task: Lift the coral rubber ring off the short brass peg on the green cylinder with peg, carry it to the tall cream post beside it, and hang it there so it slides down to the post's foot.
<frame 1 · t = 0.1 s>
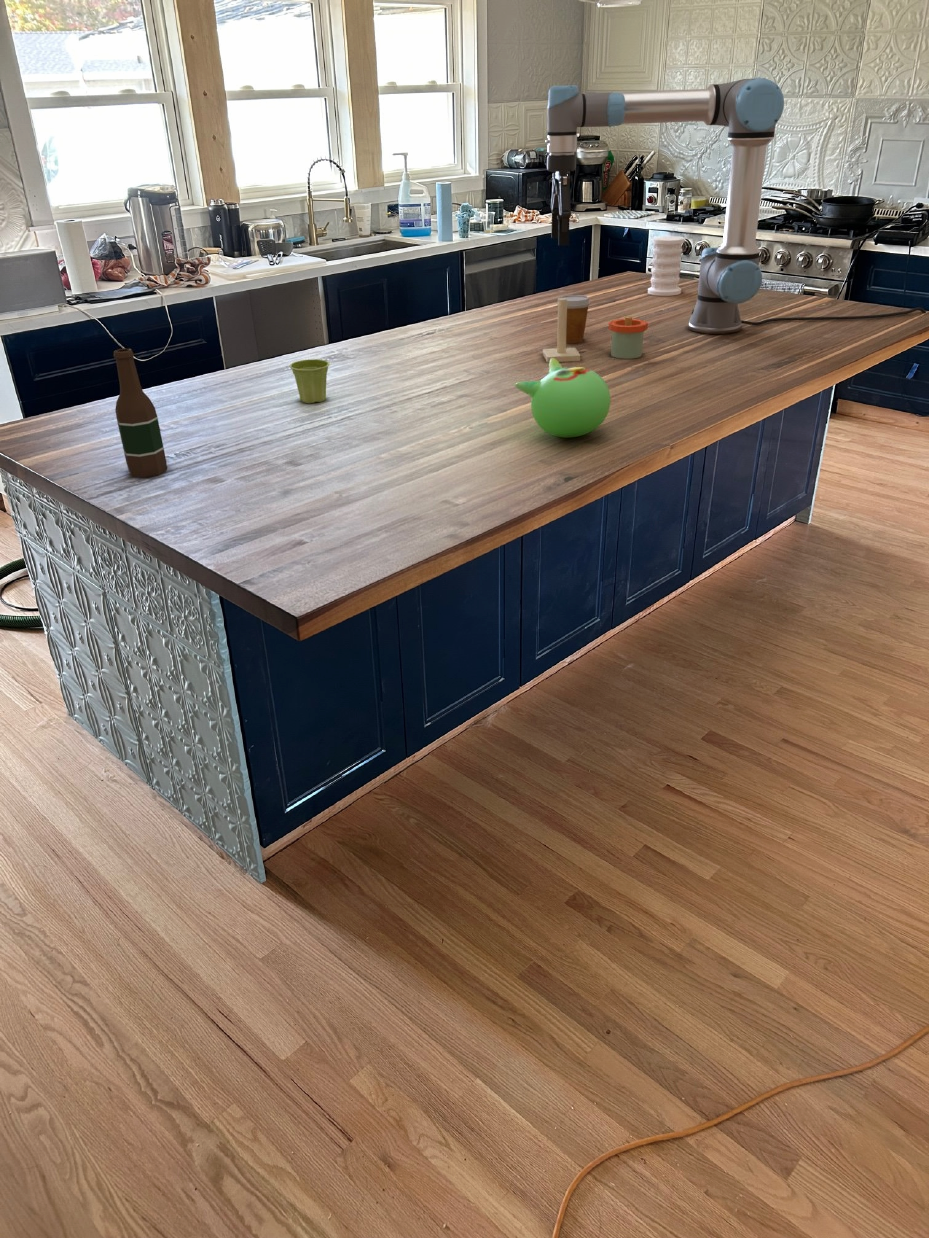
hand: (559, 241, 250), 28 cm above the table, tool pointing down, fingers open, 13 cm apart
green cylinder with peg: (626, 354, 253), on the table
disposable coffee cup: (572, 341, 269), on the table
beer bottle: (148, 472, 185), on the table
toy bird: (567, 434, 197), on the table
plant pot: (313, 400, 224), on the table
tall post: (561, 357, 252), on the table
decorative container: (664, 293, 327), on the table
ring: (627, 328, 250), point 7 cm above the table, touching green cylinder with peg
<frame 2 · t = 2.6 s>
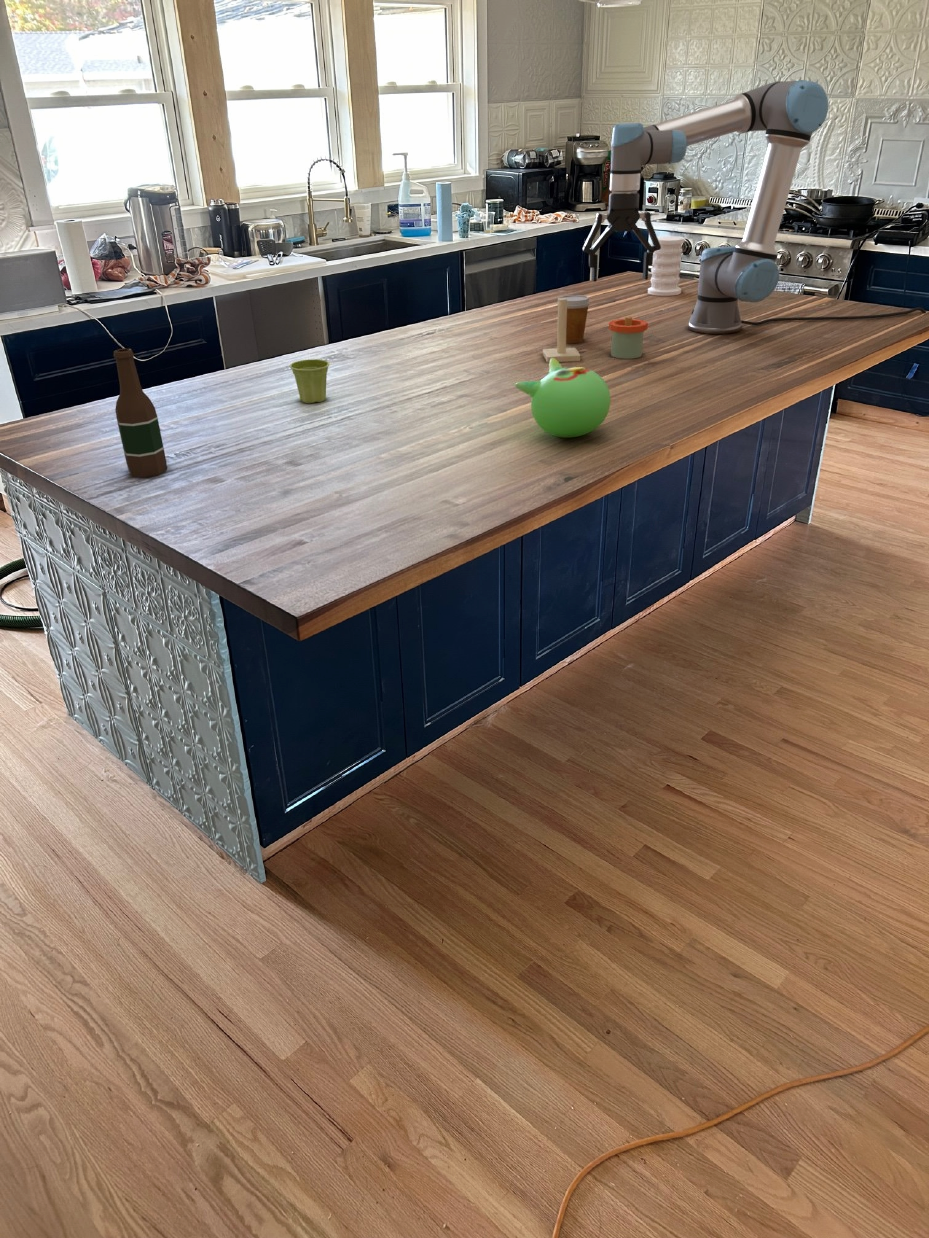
hand: (619, 280, 245), 19 cm above the table, tool pointing down, fingers open, 13 cm apart
nothing on the table moved.
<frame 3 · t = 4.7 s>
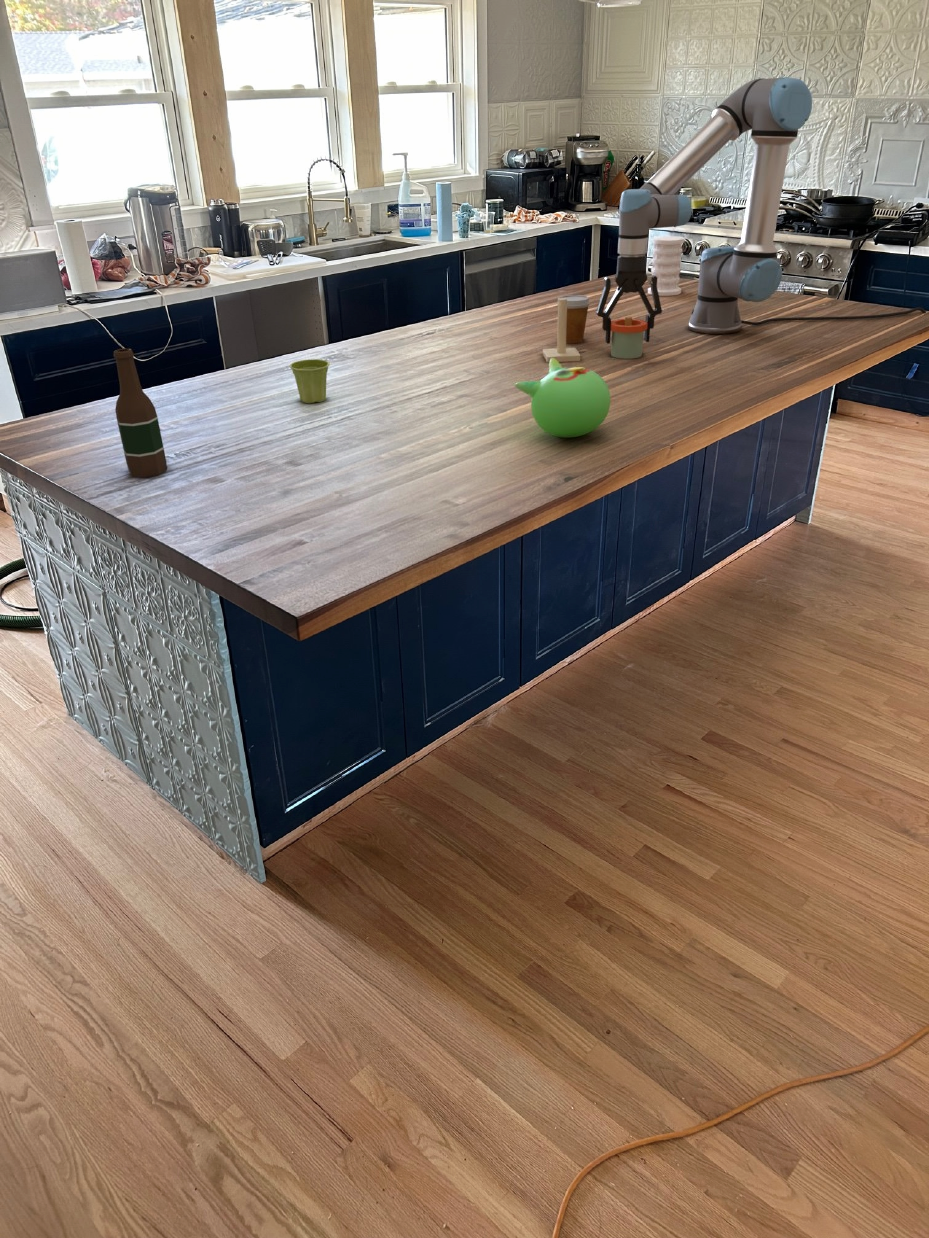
hand: (627, 341, 251), 4 cm above the table, tool pointing down, fingers closed on ring, 10 cm apart
ring: (627, 328, 250), point 7 cm above the table, touching gripper, green cylinder with peg
everything else where it was.
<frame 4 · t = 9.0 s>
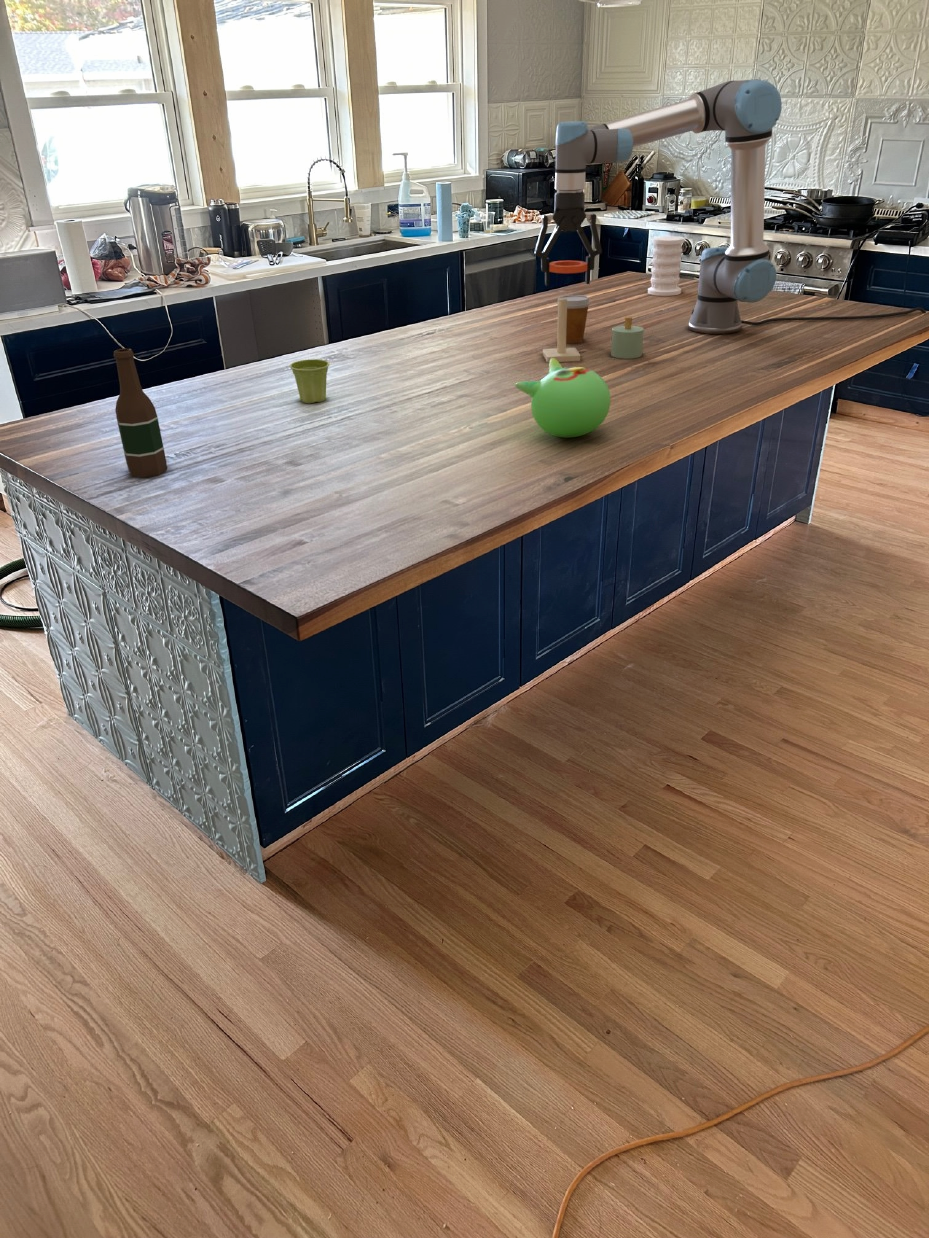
hand: (567, 284, 243), 19 cm above the table, tool pointing down, fingers closed on ring, 10 cm apart
ring: (567, 270, 241), point 23 cm above the table, touching gripper
everything else where it was.
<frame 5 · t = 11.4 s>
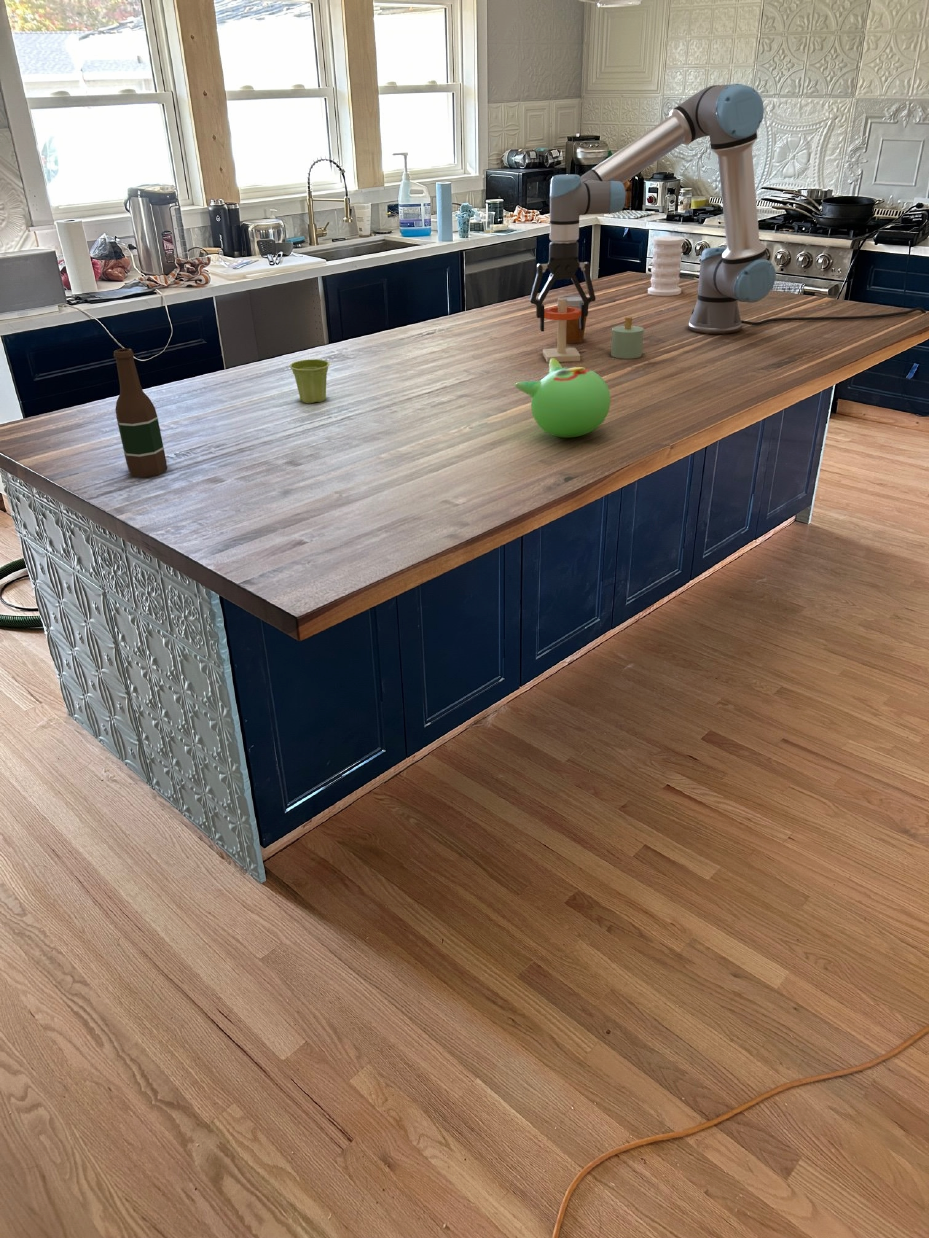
hand: (561, 329, 249), 8 cm above the table, tool pointing down, fingers closed on ring, 10 cm apart
ring: (562, 316, 247), point 11 cm above the table, touching gripper
everything else where it was.
when the fingers open (3 cm above the table, at t = 13.3 s): ring drops 5 cm, resting on tall post.
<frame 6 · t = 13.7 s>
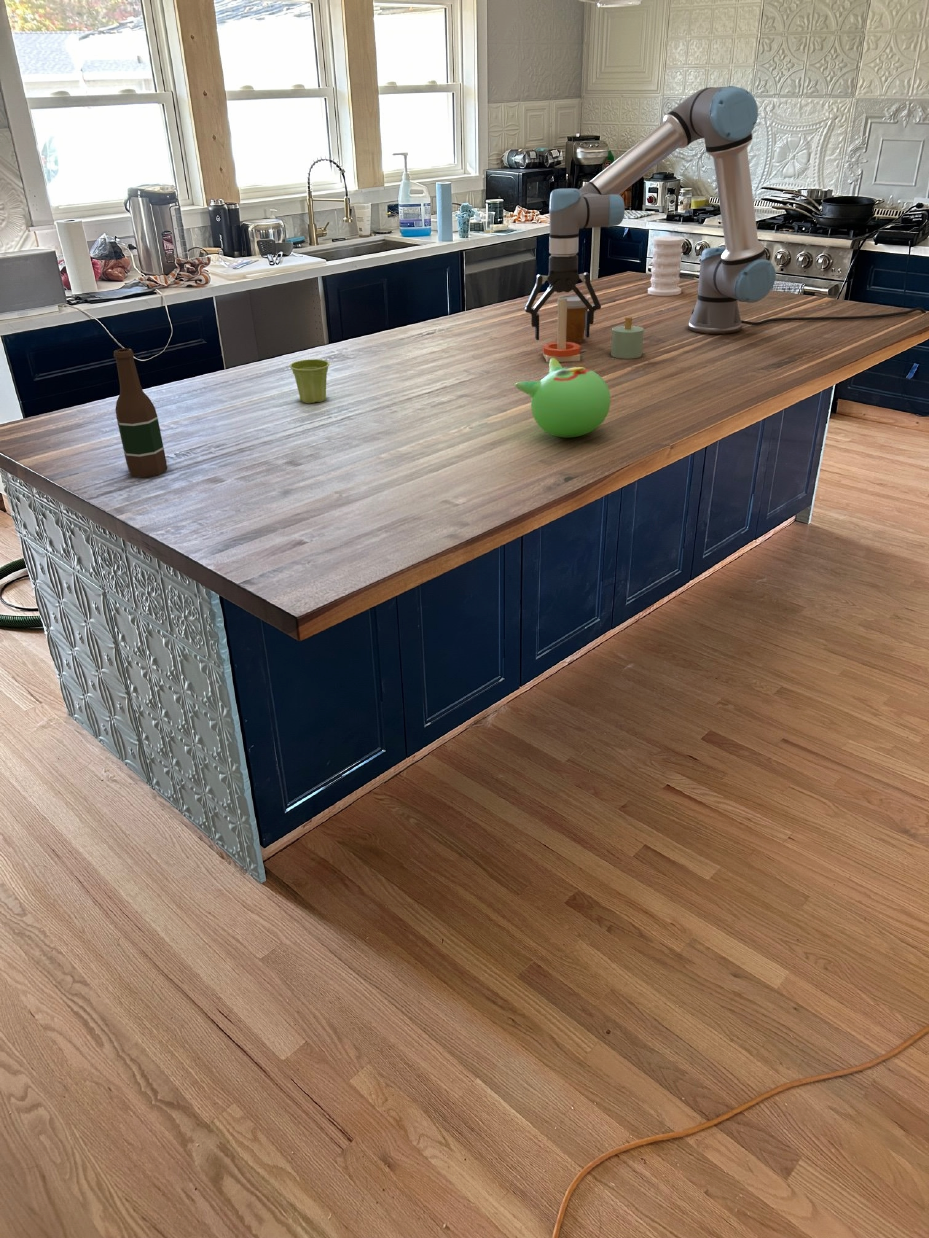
hand: (562, 338, 250), 5 cm above the table, tool pointing down, fingers open, 13 cm apart
ring: (561, 352, 252), point 1 cm above the table, touching tall post
everything else where it was.
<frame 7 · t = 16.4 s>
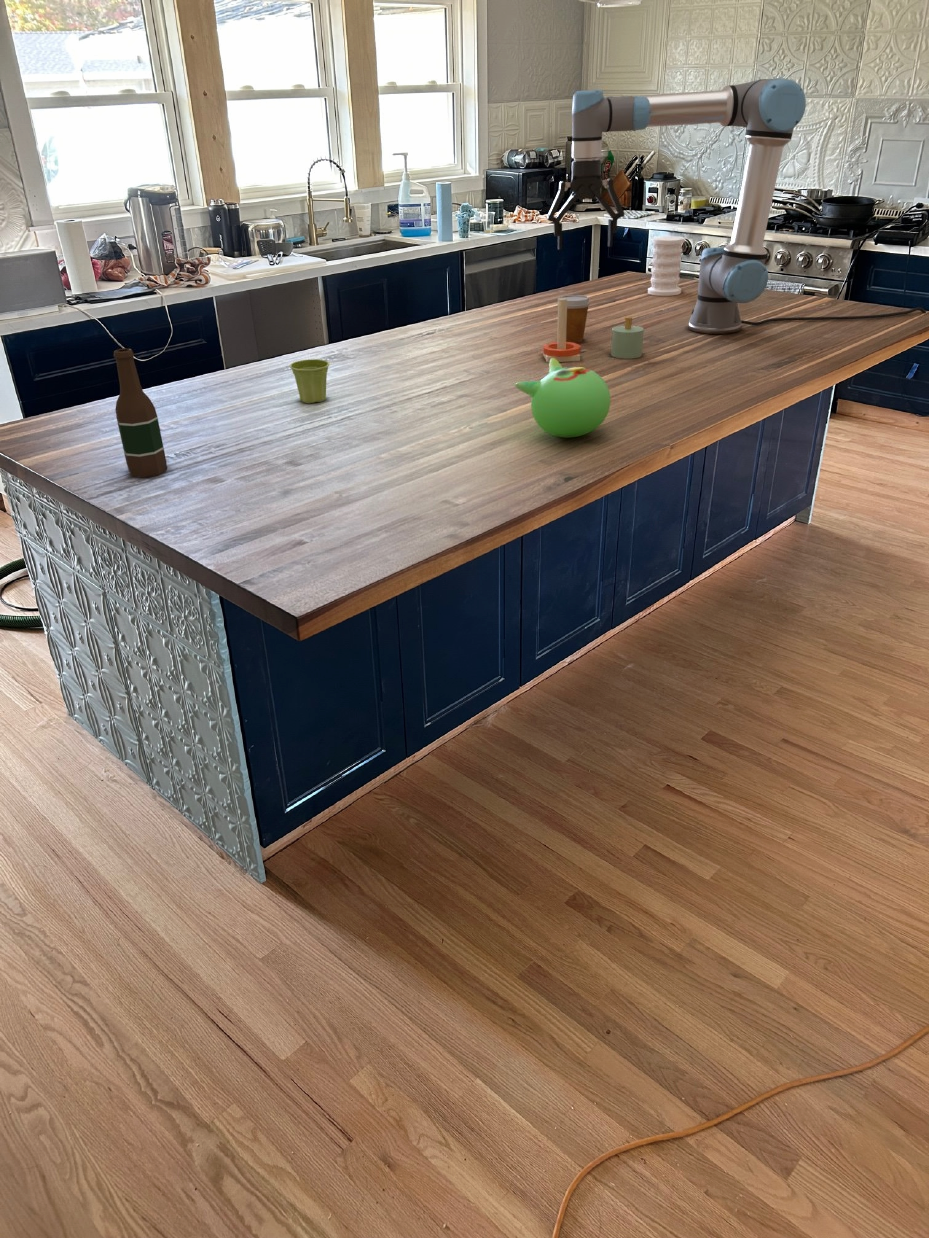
hand: (584, 248, 247), 27 cm above the table, tool pointing down, fingers open, 13 cm apart
nothing on the table moved.
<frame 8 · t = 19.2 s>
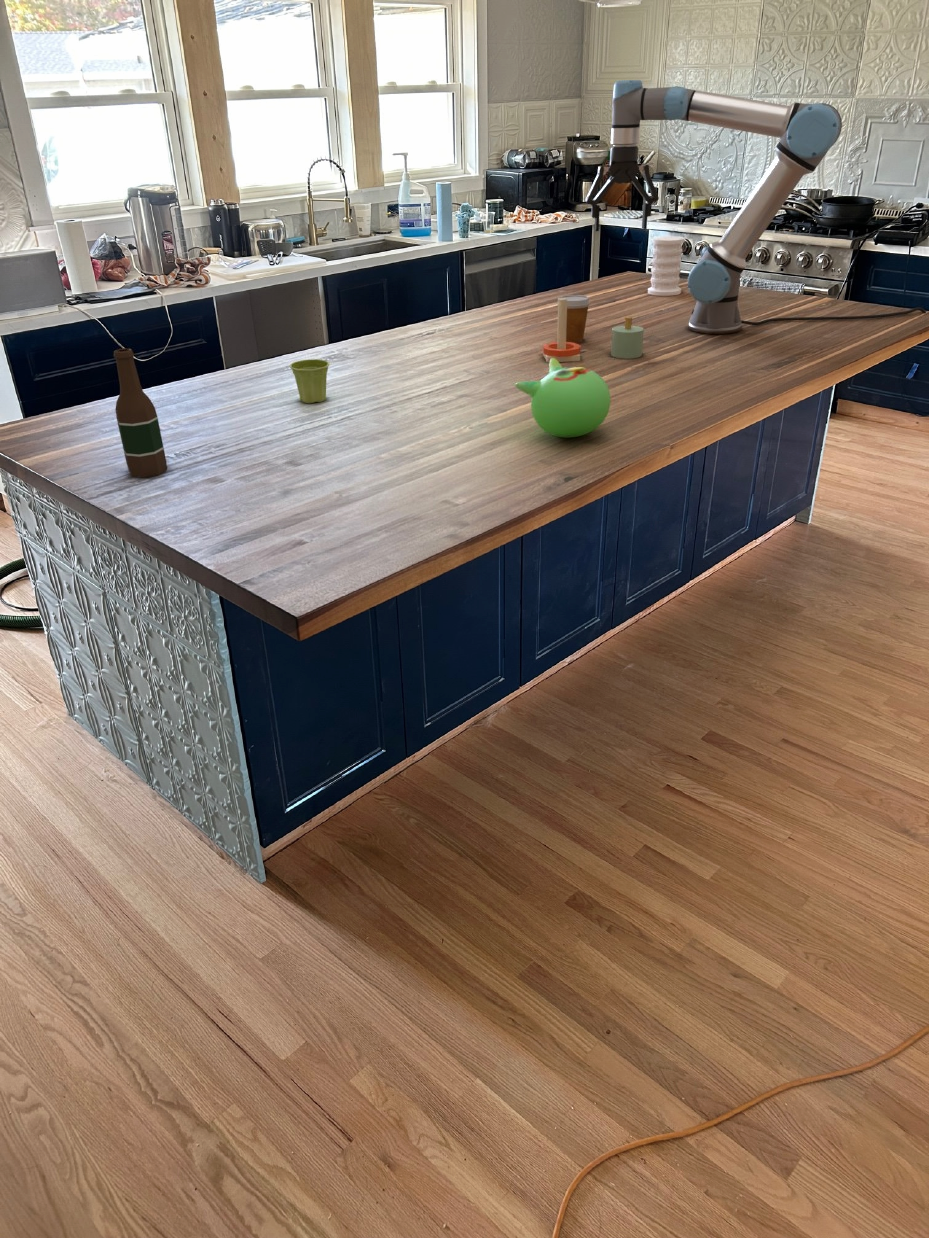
hand: (620, 229, 261), 29 cm above the table, tool pointing down, fingers open, 13 cm apart
nothing on the table moved.
at the end: ring 0.0 cm off-centre on the tall post, point 1.5 cm above the tall post's base; the gripper is holding nothing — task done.
